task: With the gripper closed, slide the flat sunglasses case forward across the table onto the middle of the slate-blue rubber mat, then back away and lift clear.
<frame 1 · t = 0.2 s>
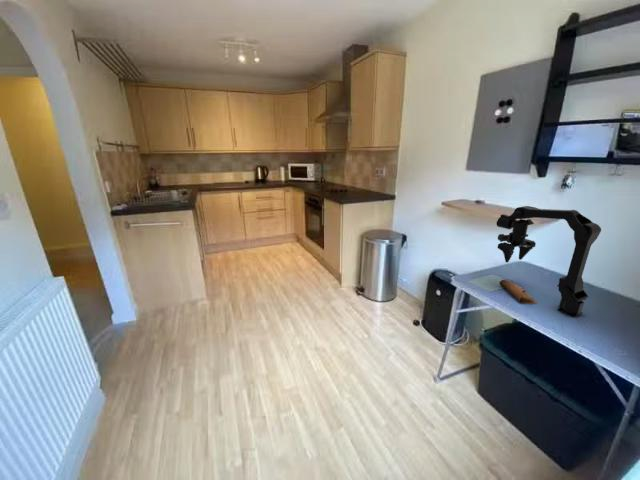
hand: (513, 260, 138), 14 cm above the table, tool pointing down, fingers open, 9 cm apart
mat: (491, 282, 146), on the table
sunglasses case: (516, 294, 135), on the table, touching mat
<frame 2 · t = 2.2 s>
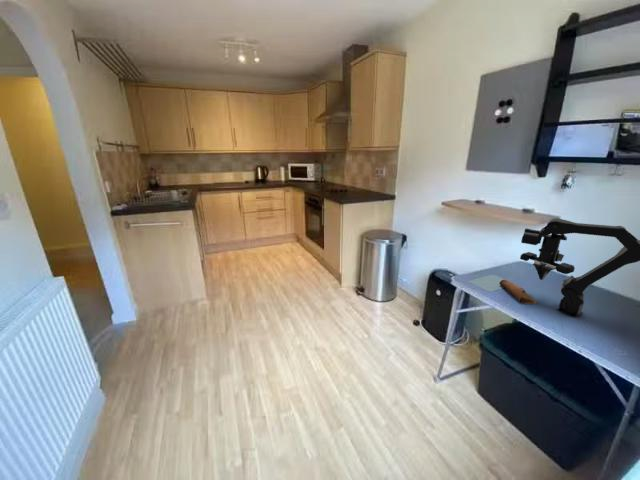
hand: (541, 279, 123), 12 cm above the table, tool pointing down, fingers closed
nothing on the table moved.
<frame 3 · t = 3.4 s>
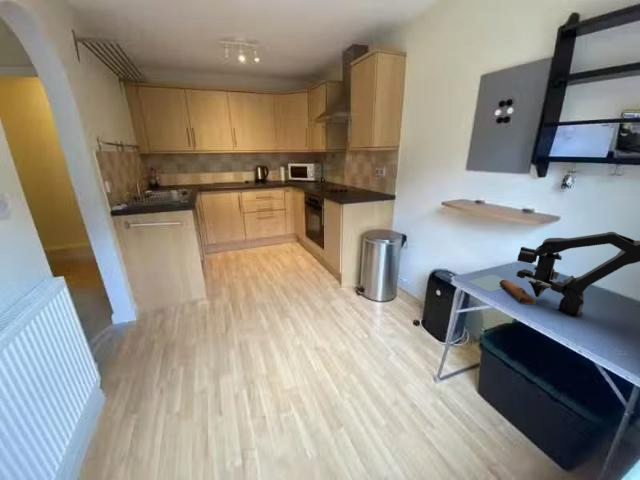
hand: (537, 296, 126), 3 cm above the table, tool pointing down, fingers closed
nothing on the table moved.
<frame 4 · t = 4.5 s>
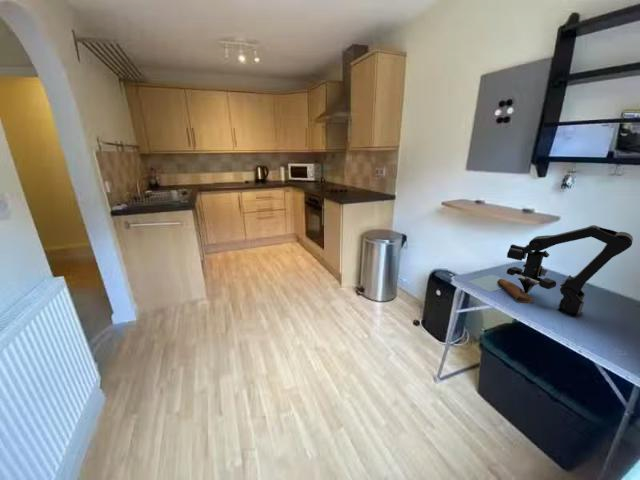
hand: (526, 293, 130), 3 cm above the table, tool pointing down, fingers closed
sunglasses case: (514, 293, 136), on the table, touching gripper, mat
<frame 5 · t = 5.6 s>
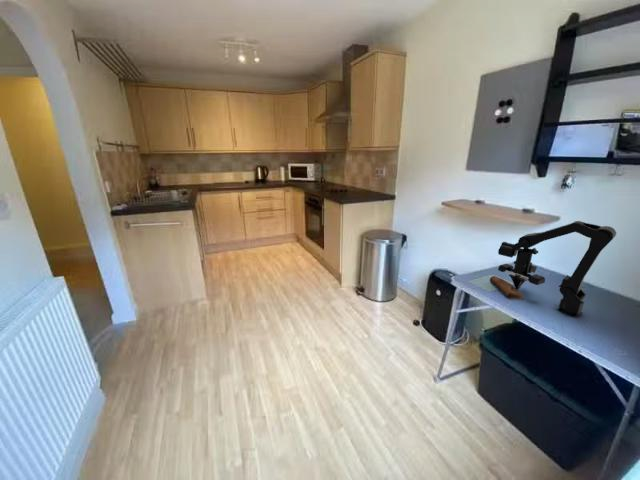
hand: (517, 289, 134), 2 cm above the table, tool pointing down, fingers closed
sunglasses case: (505, 290, 139), on the table, touching gripper, mat
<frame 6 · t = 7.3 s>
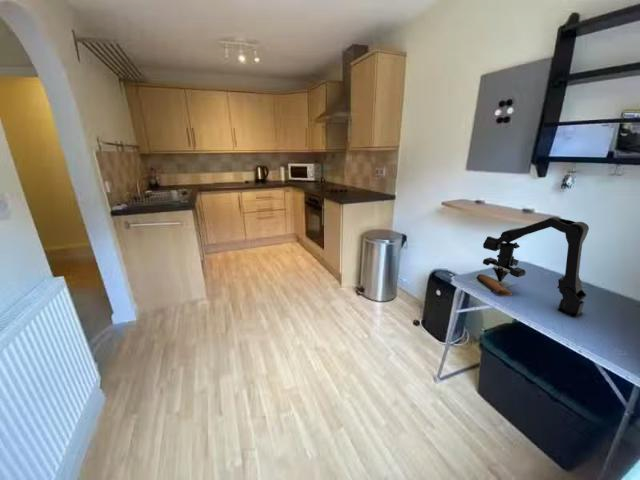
hand: (500, 281, 142), 3 cm above the table, tool pointing down, fingers closed
sunglasses case: (493, 287, 142), on the table, touching mat
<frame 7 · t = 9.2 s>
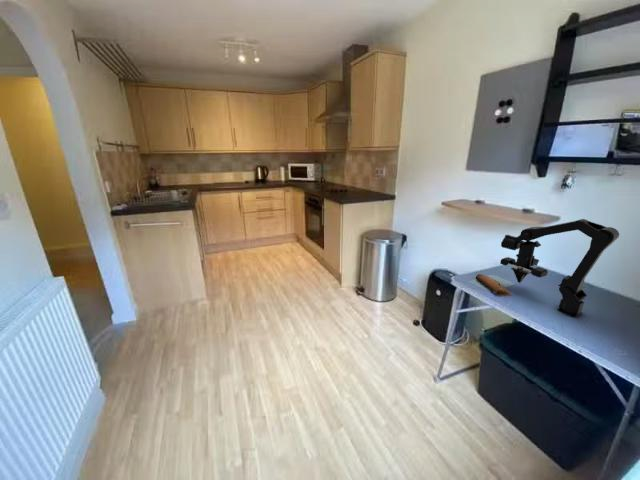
hand: (519, 282, 135), 5 cm above the table, tool pointing down, fingers closed
sunglasses case: (492, 287, 142), on the table, touching mat
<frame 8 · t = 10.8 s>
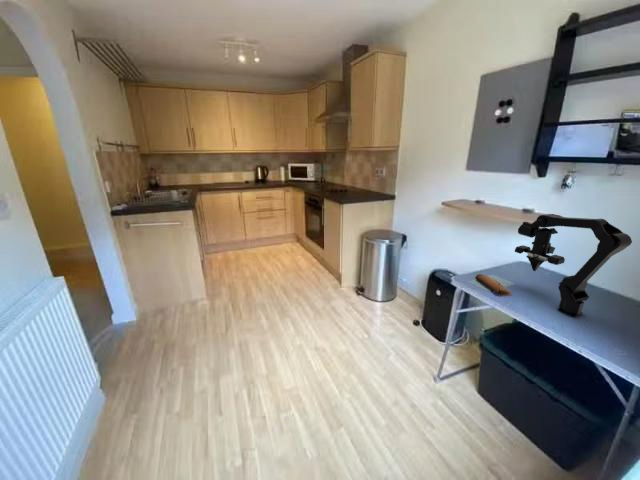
hand: (534, 270, 132), 12 cm above the table, tool pointing down, fingers closed
nothing on the table moved.
at the end: sunglasses case inside the target area on the mat (5.6 cm from its centre), point 0.0 cm above the mat's base; sunglasses case tilted 0°; sunglasses case moved 10.6 cm from its start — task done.
